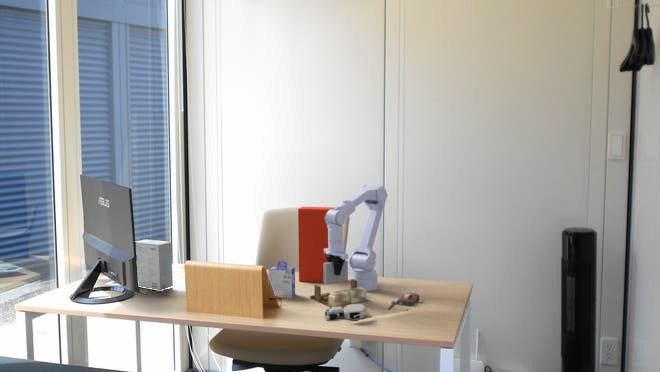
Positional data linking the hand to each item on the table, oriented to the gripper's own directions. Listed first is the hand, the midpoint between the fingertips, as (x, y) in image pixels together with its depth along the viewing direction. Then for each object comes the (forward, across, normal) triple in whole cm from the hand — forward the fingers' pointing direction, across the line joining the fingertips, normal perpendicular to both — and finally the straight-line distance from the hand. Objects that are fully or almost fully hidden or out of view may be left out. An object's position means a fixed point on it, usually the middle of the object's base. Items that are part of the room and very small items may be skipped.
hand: (335, 274), depth 280 cm
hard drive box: (+11, -59, -54) cm, 81 cm away
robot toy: (+11, +22, -10) cm, 27 cm away
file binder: (+11, -31, +12) cm, 34 cm away
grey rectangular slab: (+3, 0, 0) cm, 3 cm away
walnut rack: (+10, +3, 0) cm, 11 cm away
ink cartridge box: (+11, -15, -16) cm, 24 cm away
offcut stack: (+9, +8, 0) cm, 12 cm away
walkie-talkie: (+11, +21, +17) cm, 29 cm away
